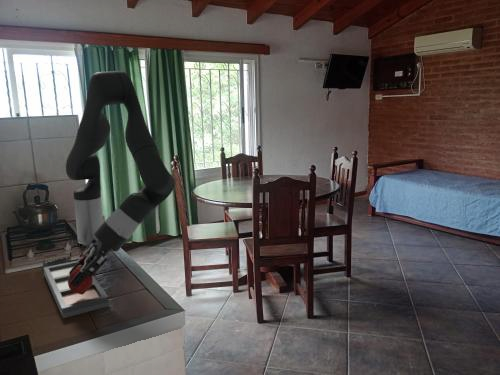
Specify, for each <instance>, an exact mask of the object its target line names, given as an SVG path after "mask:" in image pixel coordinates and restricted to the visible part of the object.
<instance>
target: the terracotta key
mask: <svg viewBox="0 0 500 375" xmlns="http://www.w3.org/2000/svg"><path fill="white" fill-rule="evenodd" d="M62 297H63V299H64V301H65V303H66V305H69V304H73V303H77V302H81V301H85V300H89V299H93V298H97V297H99V296H98V294H97V293H96V291H95V290H94V288H92V289H88V290H87V291H86V292H85V293H84V294H82V295H81V294H78V293H72V294H67V295H63V296H62Z"/></svg>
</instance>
